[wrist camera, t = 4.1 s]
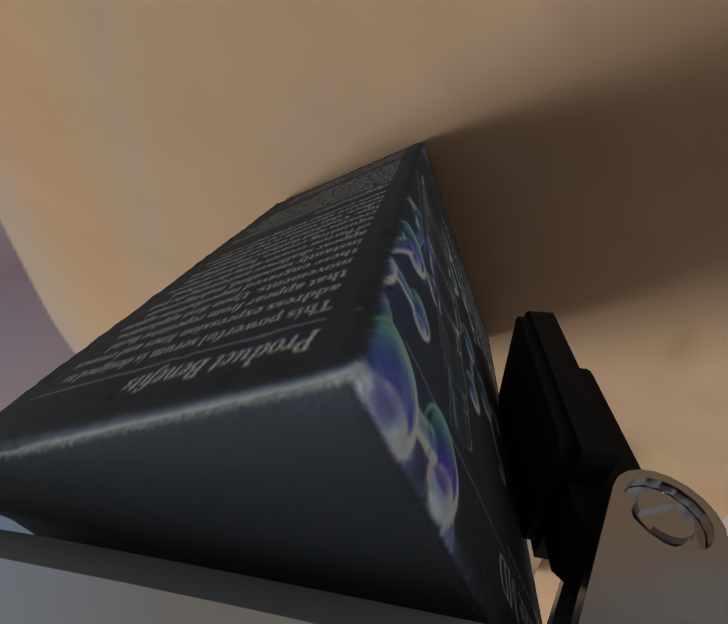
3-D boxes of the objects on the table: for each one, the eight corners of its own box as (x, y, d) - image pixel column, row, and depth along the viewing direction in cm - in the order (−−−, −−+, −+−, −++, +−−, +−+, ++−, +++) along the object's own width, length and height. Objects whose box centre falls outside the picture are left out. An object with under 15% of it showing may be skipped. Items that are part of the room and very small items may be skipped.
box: (491, 337, 14) (572, 759, 5) (361, 366, 16) (269, 705, 7) (426, 132, 11) (360, 386, 2) (272, 202, 13) (-98, 475, 4)
